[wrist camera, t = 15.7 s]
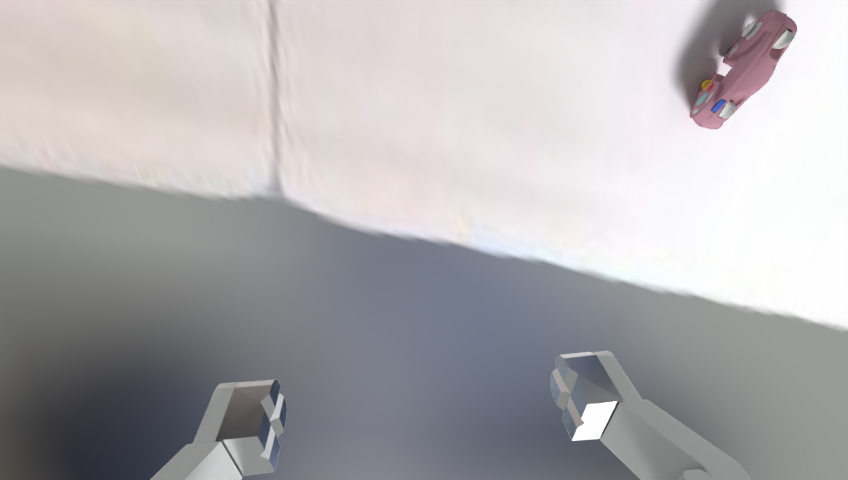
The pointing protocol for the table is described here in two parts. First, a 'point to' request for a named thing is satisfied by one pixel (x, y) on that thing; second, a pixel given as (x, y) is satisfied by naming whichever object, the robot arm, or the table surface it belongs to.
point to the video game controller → (744, 69)
